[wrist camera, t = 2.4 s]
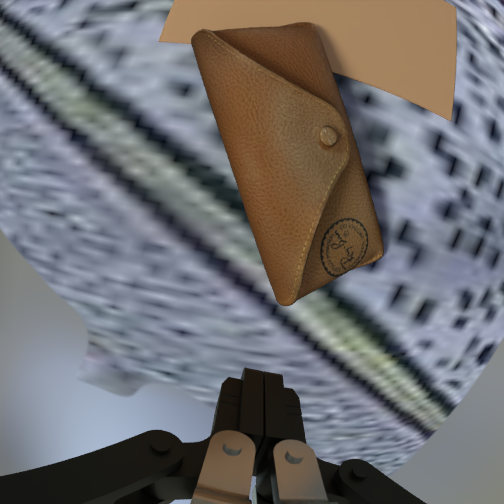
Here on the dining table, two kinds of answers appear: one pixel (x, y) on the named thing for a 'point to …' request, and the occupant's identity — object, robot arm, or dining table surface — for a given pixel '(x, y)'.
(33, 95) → the dining table surface
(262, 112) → the sunglasses case
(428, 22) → the mat
